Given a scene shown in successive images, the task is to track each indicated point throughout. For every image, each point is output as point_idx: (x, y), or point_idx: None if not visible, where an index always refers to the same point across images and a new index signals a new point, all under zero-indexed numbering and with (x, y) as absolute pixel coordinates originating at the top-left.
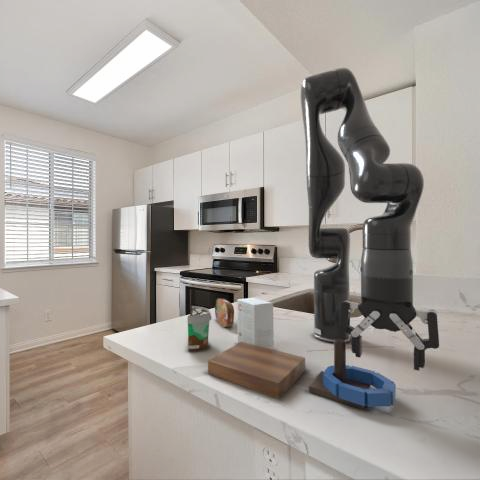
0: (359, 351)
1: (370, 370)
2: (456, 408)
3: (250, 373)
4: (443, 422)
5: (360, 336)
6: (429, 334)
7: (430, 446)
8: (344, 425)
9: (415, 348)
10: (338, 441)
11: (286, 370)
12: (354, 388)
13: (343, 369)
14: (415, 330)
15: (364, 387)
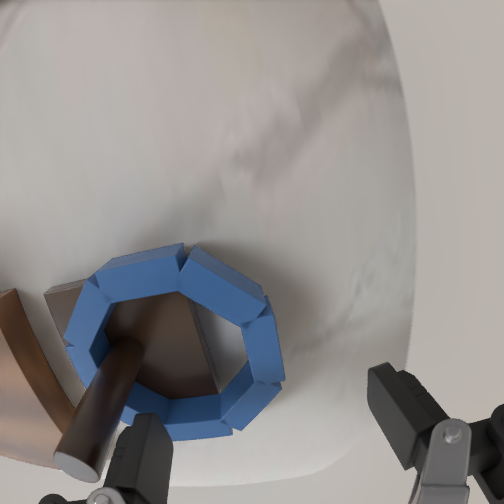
0: (170, 467)
1: (160, 261)
2: (384, 173)
3: (46, 466)
4: (370, 290)
5: (138, 495)
6: (492, 502)
7: (352, 399)
8: (226, 451)
9: (412, 463)
10: (241, 478)
11: (46, 422)
12: (203, 432)
13: (128, 396)
14: (468, 486)
15: (177, 310)
